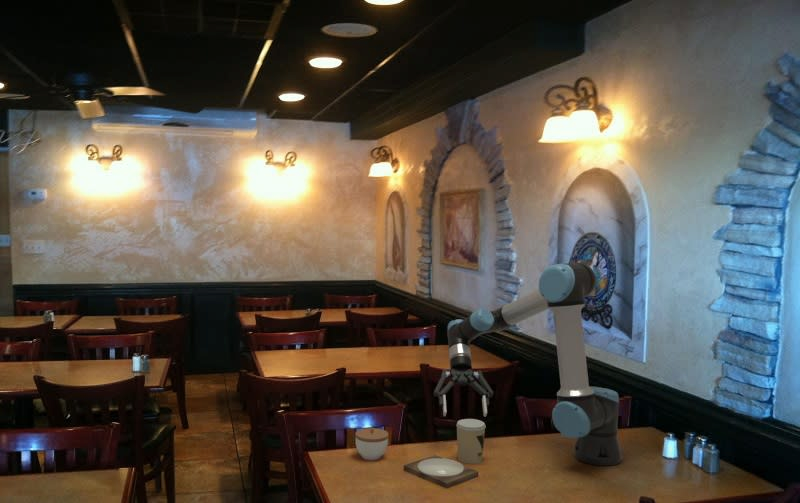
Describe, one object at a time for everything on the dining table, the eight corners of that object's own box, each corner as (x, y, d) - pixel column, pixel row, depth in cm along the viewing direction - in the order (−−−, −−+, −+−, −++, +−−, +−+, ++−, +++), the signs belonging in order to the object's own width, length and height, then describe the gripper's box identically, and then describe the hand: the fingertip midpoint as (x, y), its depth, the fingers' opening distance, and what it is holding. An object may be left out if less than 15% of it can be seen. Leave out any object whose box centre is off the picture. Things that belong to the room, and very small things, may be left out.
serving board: (478, 476, 211) (478, 469, 211) (446, 488, 202) (446, 481, 202) (434, 459, 224) (435, 453, 224) (403, 470, 215) (403, 463, 215)
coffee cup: (483, 466, 220) (484, 428, 219) (453, 463, 222) (454, 426, 221) (485, 455, 229) (486, 419, 228) (457, 453, 231) (458, 417, 230)
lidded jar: (394, 457, 226) (395, 428, 225) (371, 465, 218) (371, 436, 217) (371, 448, 233) (372, 421, 232) (347, 456, 225) (348, 427, 225)
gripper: (493, 366, 250) (500, 420, 236) (424, 365, 249) (427, 419, 235) (497, 354, 245) (504, 409, 231) (426, 353, 243) (429, 408, 229)
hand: (465, 414), depth 233 cm, fingers open, 13 cm apart
